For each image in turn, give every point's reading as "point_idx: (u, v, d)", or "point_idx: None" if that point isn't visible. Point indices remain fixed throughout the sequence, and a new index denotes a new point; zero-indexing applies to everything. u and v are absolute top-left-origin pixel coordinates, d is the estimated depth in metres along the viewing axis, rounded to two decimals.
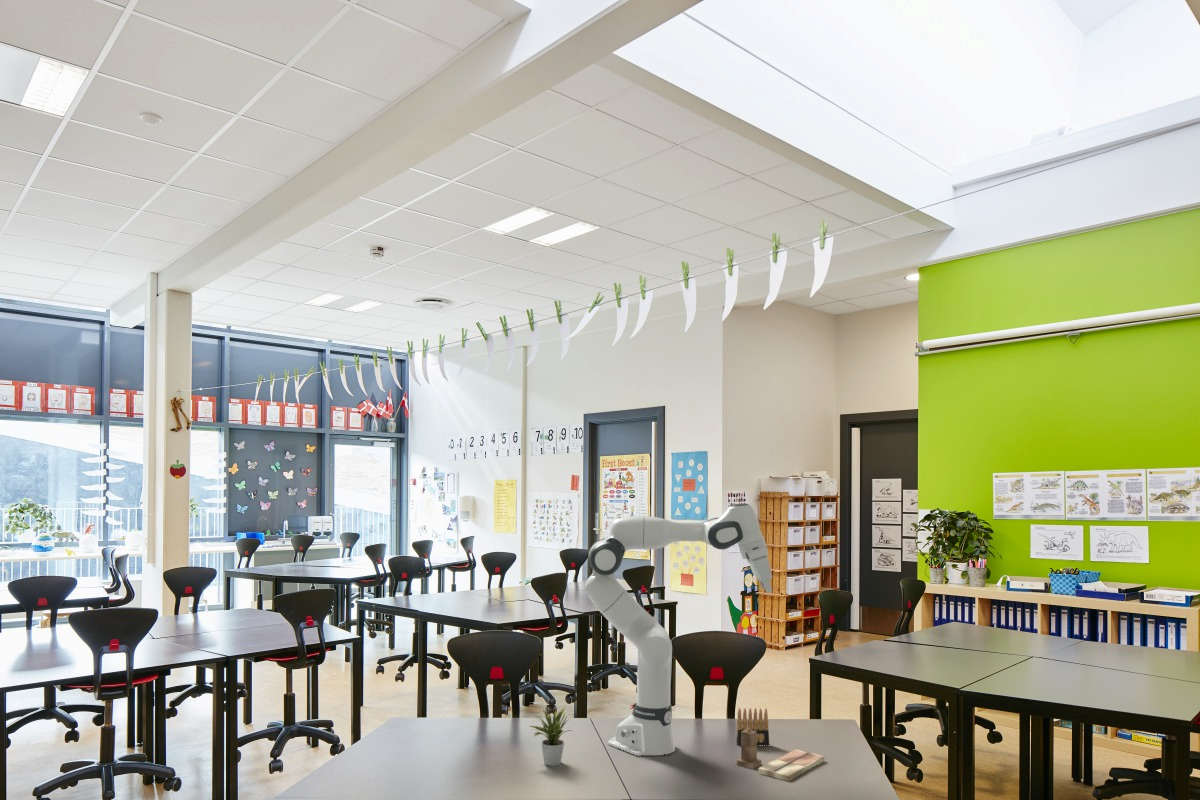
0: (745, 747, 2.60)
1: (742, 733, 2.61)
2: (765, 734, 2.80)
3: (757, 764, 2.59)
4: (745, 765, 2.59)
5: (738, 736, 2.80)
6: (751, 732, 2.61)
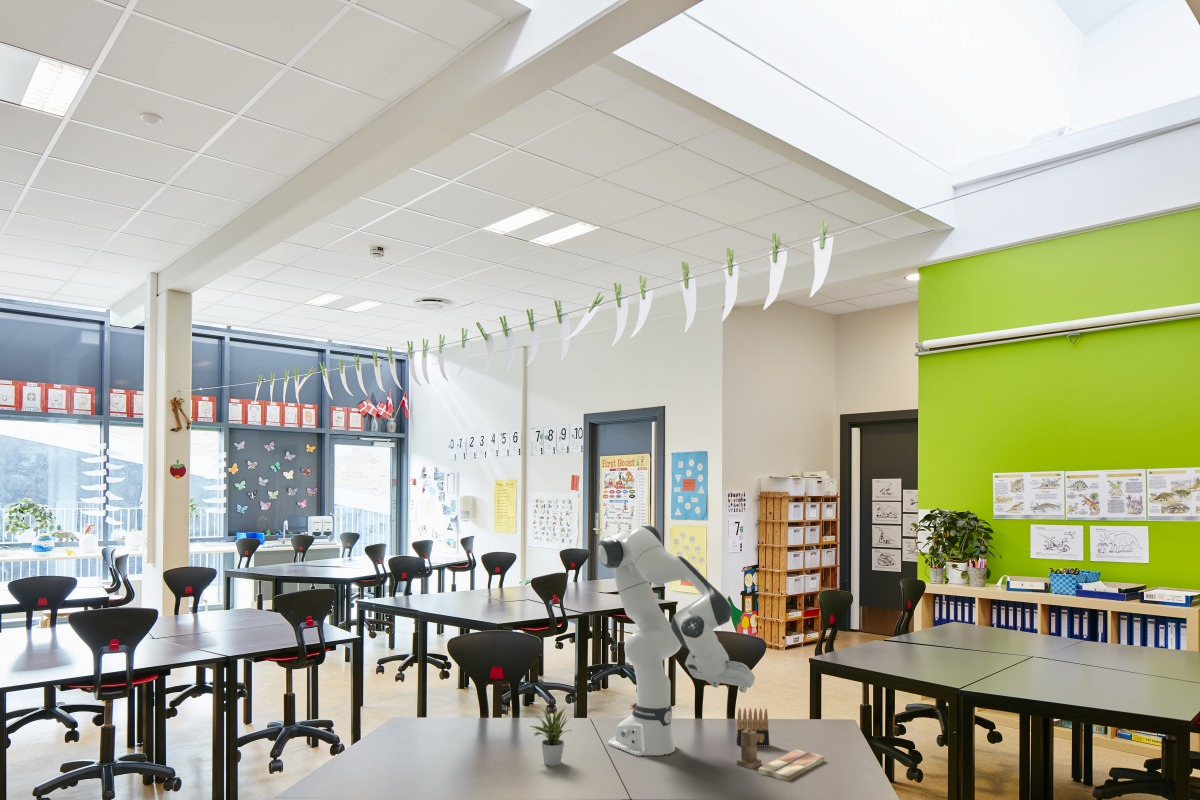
0: (745, 747, 2.60)
1: (742, 733, 2.61)
2: (765, 734, 2.80)
3: (757, 764, 2.59)
4: (745, 765, 2.59)
5: (738, 736, 2.80)
6: (751, 732, 2.61)
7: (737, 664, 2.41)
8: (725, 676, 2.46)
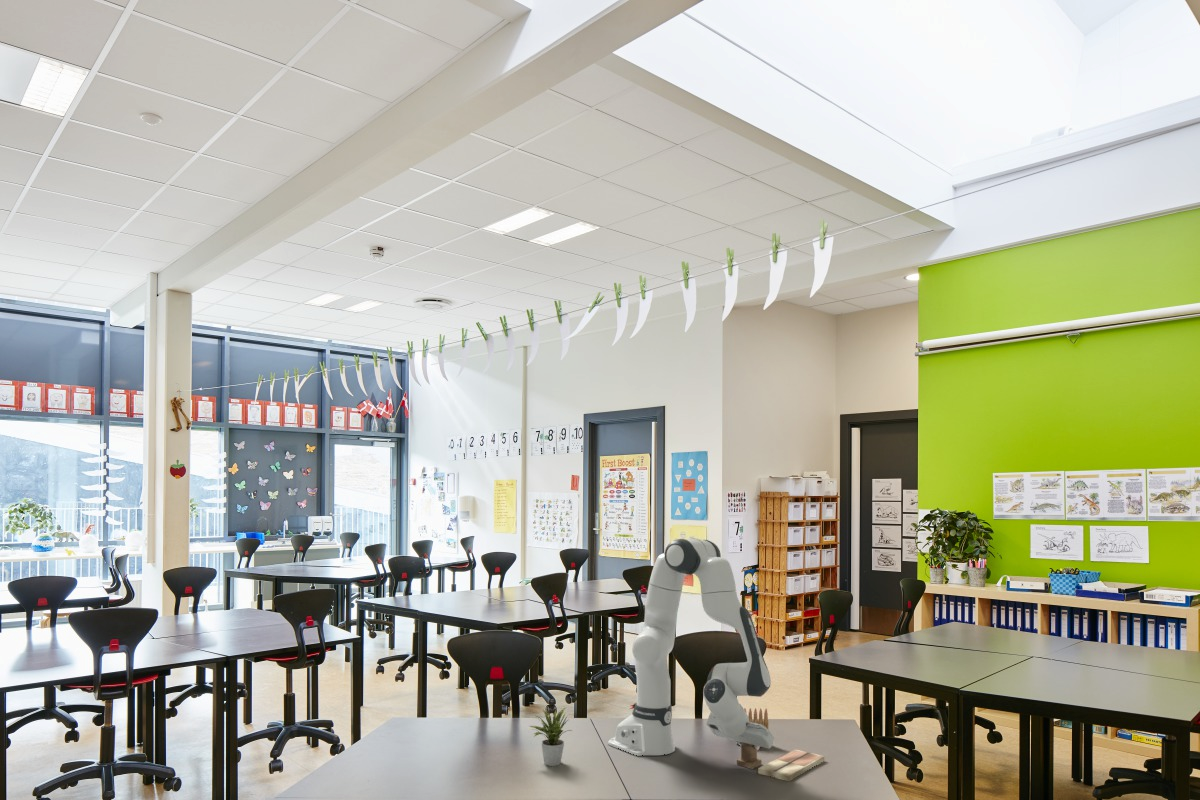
0: (745, 747, 2.60)
1: None
2: None
3: (757, 764, 2.59)
4: (745, 765, 2.59)
5: None
6: None
7: (757, 726, 2.50)
8: (745, 736, 2.55)
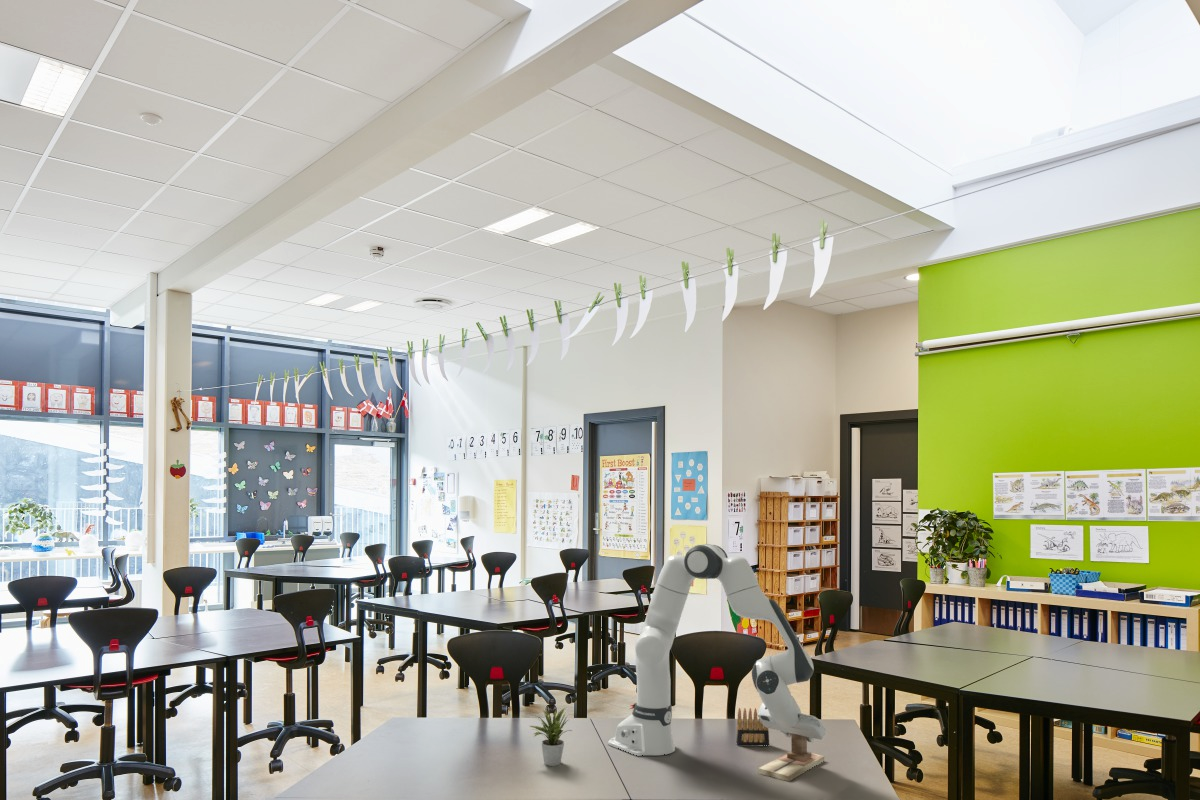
0: (795, 740, 2.62)
1: None
2: (765, 734, 2.80)
3: (807, 757, 2.62)
4: (796, 758, 2.61)
5: (738, 736, 2.80)
6: None
7: (809, 718, 2.52)
8: (797, 728, 2.57)
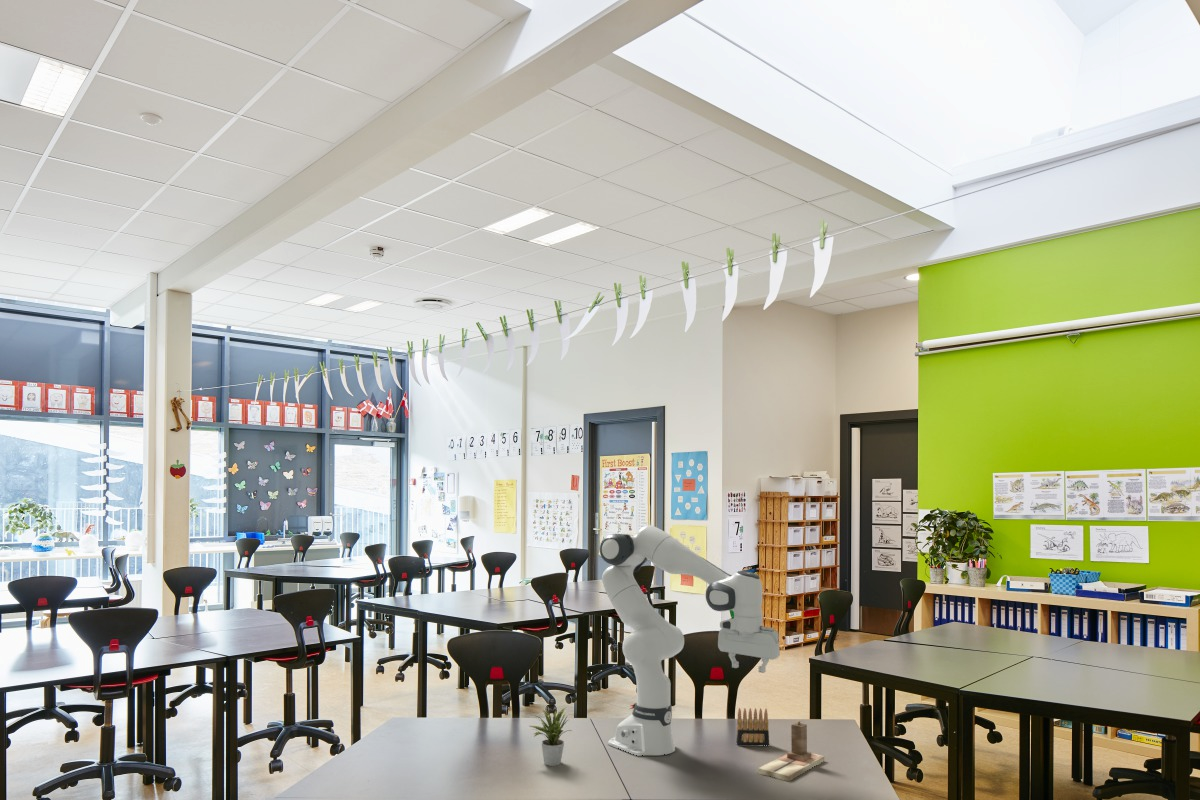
0: (795, 740, 2.62)
1: (792, 726, 2.63)
2: (765, 734, 2.80)
3: (807, 757, 2.62)
4: (796, 758, 2.61)
5: (738, 736, 2.80)
6: (801, 725, 2.63)
7: (771, 628, 2.57)
8: (753, 643, 2.59)
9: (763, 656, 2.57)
